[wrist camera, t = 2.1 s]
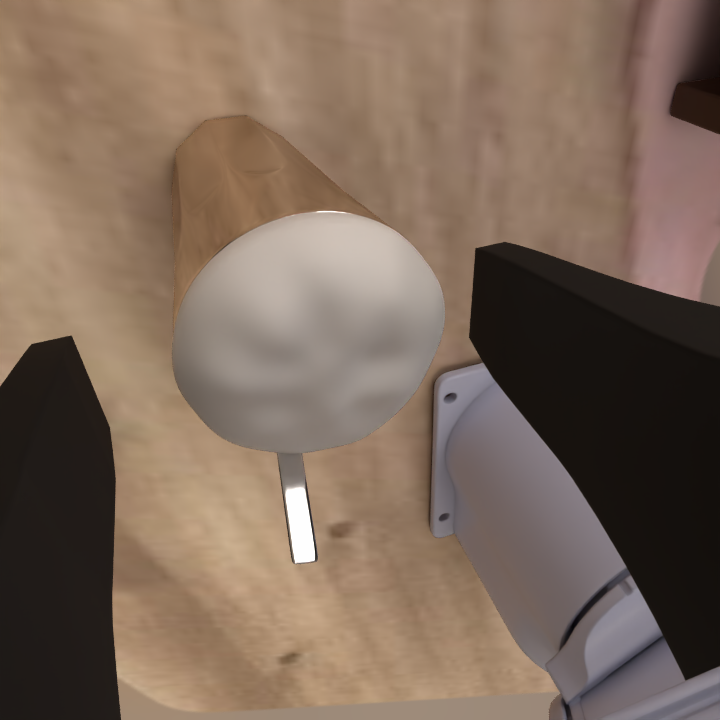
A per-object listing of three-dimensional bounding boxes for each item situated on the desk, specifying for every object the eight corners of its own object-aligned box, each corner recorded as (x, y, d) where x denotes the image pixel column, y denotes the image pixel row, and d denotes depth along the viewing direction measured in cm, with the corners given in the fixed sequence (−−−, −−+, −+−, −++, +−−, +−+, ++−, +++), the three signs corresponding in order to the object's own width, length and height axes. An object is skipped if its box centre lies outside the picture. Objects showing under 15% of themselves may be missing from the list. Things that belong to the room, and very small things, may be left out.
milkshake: (133, 273, 17) (162, 578, 9) (152, 66, 14) (214, 259, 7) (292, 288, 19) (422, 552, 11) (335, 107, 16) (544, 295, 9)
